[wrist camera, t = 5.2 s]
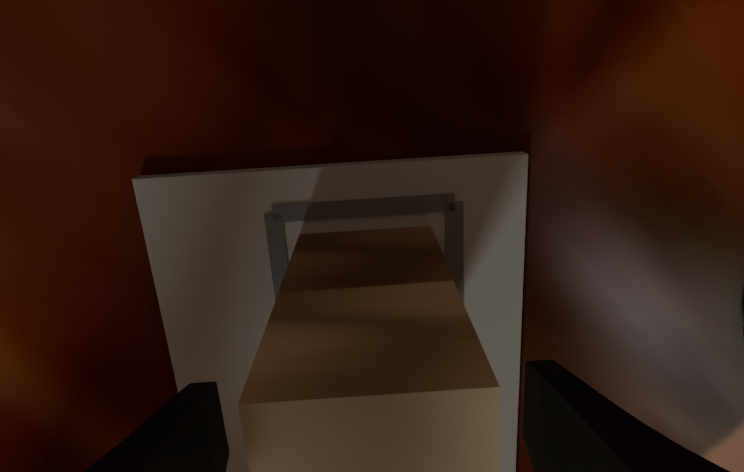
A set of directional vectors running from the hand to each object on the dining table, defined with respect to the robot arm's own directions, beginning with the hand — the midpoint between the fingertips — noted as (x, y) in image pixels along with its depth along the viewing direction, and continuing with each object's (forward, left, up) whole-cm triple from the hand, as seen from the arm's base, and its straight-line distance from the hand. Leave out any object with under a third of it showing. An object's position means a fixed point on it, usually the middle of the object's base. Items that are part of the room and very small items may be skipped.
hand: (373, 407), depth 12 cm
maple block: (0, 0, -2) cm, 2 cm away
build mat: (-1, -4, -7) cm, 8 cm away
